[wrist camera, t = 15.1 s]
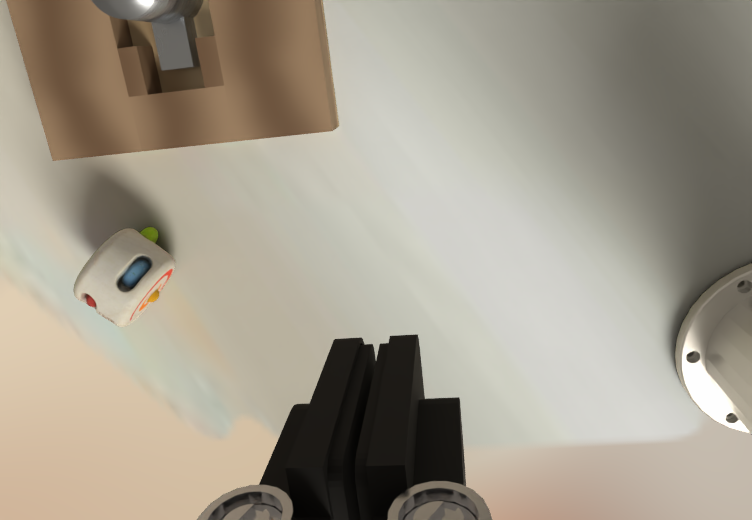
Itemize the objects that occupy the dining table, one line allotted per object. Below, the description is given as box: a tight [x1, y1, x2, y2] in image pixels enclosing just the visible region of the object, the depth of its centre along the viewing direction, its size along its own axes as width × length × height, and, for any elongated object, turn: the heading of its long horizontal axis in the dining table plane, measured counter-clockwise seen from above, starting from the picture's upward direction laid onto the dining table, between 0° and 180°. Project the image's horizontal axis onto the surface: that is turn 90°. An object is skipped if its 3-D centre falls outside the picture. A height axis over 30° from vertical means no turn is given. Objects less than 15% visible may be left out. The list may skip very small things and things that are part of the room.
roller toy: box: [74, 227, 175, 327], centre depth 39 cm, size 4×6×6 cm
